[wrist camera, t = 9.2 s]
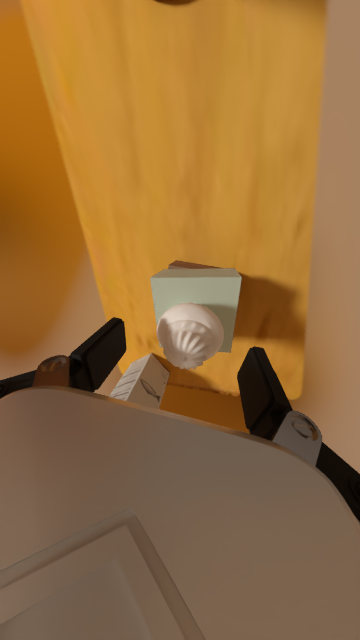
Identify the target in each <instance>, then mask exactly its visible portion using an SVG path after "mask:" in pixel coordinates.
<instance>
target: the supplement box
mask: <svg viewBox="0 0 360 640" xmlns="http://www.w3.org/2000/svg"><path fill="white" fill-rule="evenodd" d="M169 375H170V373H169V372H168V371H167V370H166V369H165V368H164V367H163V366H162V364H161V363H160V362H159V361H158V360H157V359H156V358H155V356H154V355H153V354H152V353H151V354H149V355H147V356H145V357H142V358H140V359H138V360H136V361H134V362H132V363H131V365H130V366H129V368H128V369H127V370H126V372H125V373H124V375H123V376H122V378H121V379H120V381H119V382H118V384H117V385H116V387H115V388H114V390H113V391H112V393H111V394H110V396H109V397H113V398H116V399H120V400H124V401H128V402H132V403H136V404H140V405H144V406H148V407H151V408H155V409H159V406H160V403H161V400H162V397H163V393H164V391H165V387H166V384H167V381H168V378H169Z"/></svg>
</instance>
